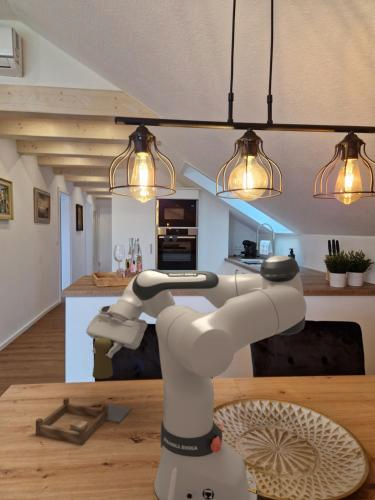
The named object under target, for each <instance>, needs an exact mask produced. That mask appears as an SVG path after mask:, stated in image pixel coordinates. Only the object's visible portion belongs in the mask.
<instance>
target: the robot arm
mask: <svg viewBox="0 0 375 500" xmlns="http://www.w3.org/2000/svg"><path fill="white" fill-rule="evenodd" d="M259 270H260V271H259V273H237V274H217V273H214V272H211V271H206V270H179V271H178V270H173V271H172V270H169V271H168V270H160V269H156V268H150V269H149V268H148V269H144V270H142V271H141V272H139V273H137V274H136V275H134V277H132V279H131V280H130V281H129V283H128V284H127V286H126V287H125V289H124V291H123V294H122V296H121V297H120V298H118V300H117V301H116V303H112V304H109V305H103V306H100V307H99V309H98V312H99V313H97V314H96V315H95V316H94V317H93V318H92V320H91V321H90V323H89V324H88V325H87V327H86V334H87V335H88V336H89V337H90V338H91V339H95V340H96V339H98V338H108V339H110V340H111V343H112V346H111V348H110V350H107V351H106V353H105V356H106V357H108V358H111V359H112V358H113V356H114V354H116V353H117V352H118V351H120V350H121V348H122V347H124V348H127V349H131V350H136V349H137V348H139V346H140V345H141V342H142V339H143V337H144V335H145V331H146V330H147V327H148V322H147V321H146V320H145V319H140V317H141V315H142V313H144V314H146V315H148V316H149V317H151V318H154V319H156V321H155V332H156V336H157V340H158V341H157V342H158V350H159V351H158V352H159V362H160V368H161V376H162V383H163V385H162V387H163V410H162V411H163V412H162V413H163V414H162V417H163V418H162V421H161V422H160V434H159V435H160V436H159V441H160V448H161V452H160V457H159V458H160V459H159V465H158V469H157V474H156V476H155V479H154V484H153V488H154V492H155V495H156V496H157V498H158V499H159V500H258V493H257V494H254V493H252V492H249V491H248V487H249V488H253V489H256V490H257V491H258V487H257V483H256V480H255V478H254V476H253V475H252V473H251V472H249V471H247V469H246V465H245V462H244V459H243V457H242V455H241V454H240V453H239V452H238V451H236V450H235V449H234V448H233V447H231V446H230V445H229V444H228V443H226V441H225V440H223V423H222V422H221V423H220V425H217V424H216V422H215V421H214V410H215V409H214V407H215V406H214V405H215V402H214V401H215V389H214V385H213V382H212V379H211V378H216V377H219V376H221V375H222V374H224V373H225V372H226V371H227V370H228V368H230V366H231V364H232V363H233V361H234V357H235V355H236V353H237V352H239V351H240V350H242V349H243V348H245V347H246V346H249V345H251V344H254V343H256V342H259V341H262V340H264V339H267V338H270V337H272V336H275V335H279V336H291V335H296V334H299V333H300V332H301V331H302V330H303V329H304V328H305V325H306V324H305V323H306V314H307V302H306V298H305V297H304V288H303V282H302V277H301V274H300V271H301V269H300V266H299V263H298V262H297V260H296V259H295V258H293V257H292V256H288V255H283V254H281V255H280V254H279V255H273V256H270V257H269V258H267V259H264V260H263V262H261V265H260V269H259ZM171 292H192V293H196V294H199V295H200V296H202V297H204V298H205V299H206V300H207V301H209V302H210V304H211V305H212V306H213V307H215V309H216V310H213V311H209V312H199V311H197V310H195V309H194V308H192V307H190V306H187V305H182V304H181V305H176V302H175V300H174V297H173V295H172V293H171ZM91 351H92V353H94V354H95V353H96V350H95V349H94V347H93V348H92V350H91ZM247 481H248V482H249V481H252V482H253V483H248V482H247Z"/></svg>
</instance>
